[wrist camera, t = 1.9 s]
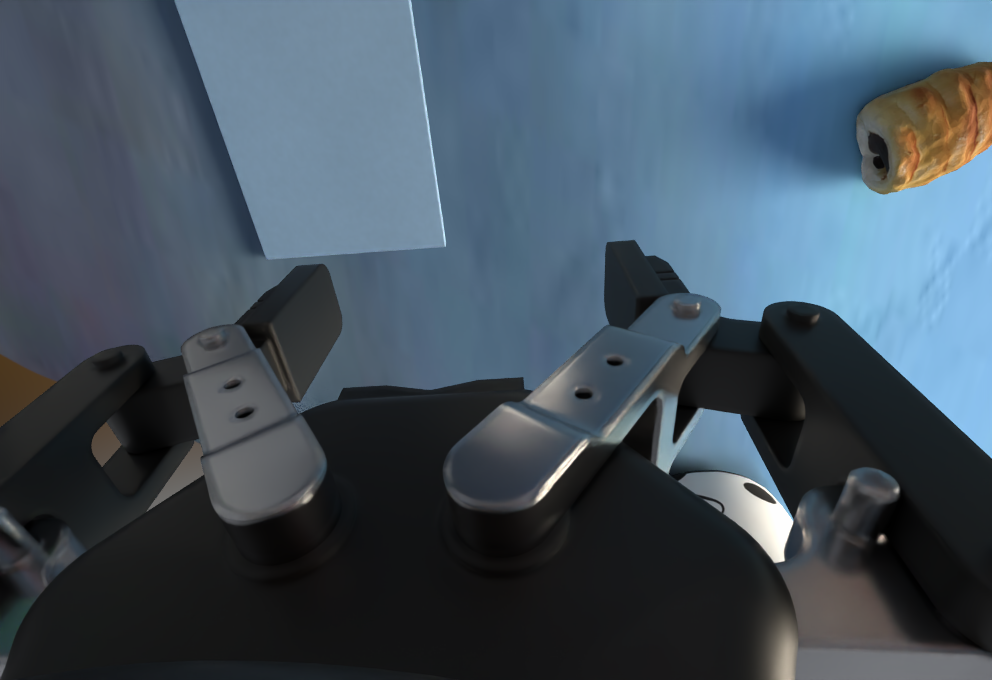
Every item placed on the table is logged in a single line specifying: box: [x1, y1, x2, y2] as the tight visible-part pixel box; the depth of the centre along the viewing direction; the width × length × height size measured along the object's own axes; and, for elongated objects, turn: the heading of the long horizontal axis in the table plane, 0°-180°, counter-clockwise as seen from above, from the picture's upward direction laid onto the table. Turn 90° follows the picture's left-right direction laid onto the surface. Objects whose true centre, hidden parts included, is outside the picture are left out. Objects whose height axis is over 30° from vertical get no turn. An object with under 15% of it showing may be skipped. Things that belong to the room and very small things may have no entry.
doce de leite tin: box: [671, 470, 793, 563], centre depth 44 cm, size 17×17×18 cm
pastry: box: [856, 62, 992, 194], centre depth 30 cm, size 9×7×4 cm
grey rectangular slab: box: [174, 0, 446, 260], centre depth 32 cm, size 18×14×1 cm
